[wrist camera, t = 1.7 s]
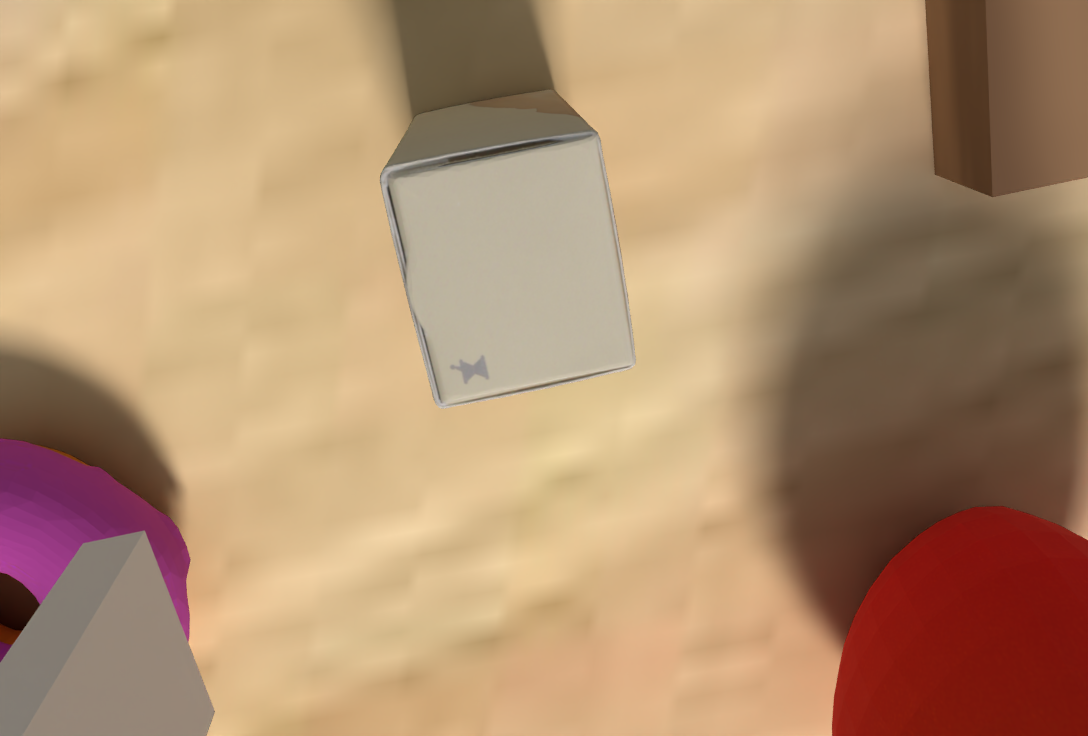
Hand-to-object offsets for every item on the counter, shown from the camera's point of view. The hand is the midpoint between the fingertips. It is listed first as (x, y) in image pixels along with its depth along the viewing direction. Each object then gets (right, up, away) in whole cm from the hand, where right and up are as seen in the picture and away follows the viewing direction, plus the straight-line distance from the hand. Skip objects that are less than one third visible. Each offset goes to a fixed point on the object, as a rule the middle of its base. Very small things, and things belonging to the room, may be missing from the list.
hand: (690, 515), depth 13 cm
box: (-3, +7, +18) cm, 19 cm away
